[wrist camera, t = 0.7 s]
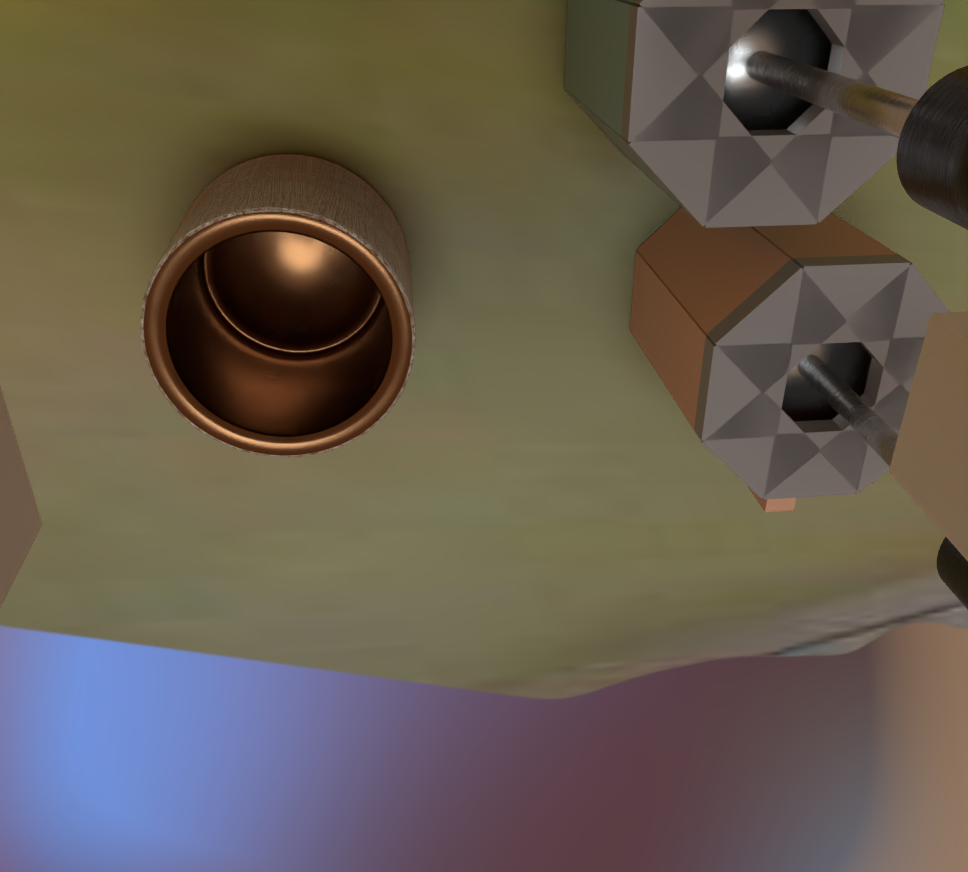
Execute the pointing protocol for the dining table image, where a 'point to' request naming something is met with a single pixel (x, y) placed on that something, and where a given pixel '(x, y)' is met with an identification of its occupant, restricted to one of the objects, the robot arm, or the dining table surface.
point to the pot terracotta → (778, 342)
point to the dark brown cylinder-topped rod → (853, 105)
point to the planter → (282, 309)
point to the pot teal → (711, 124)
